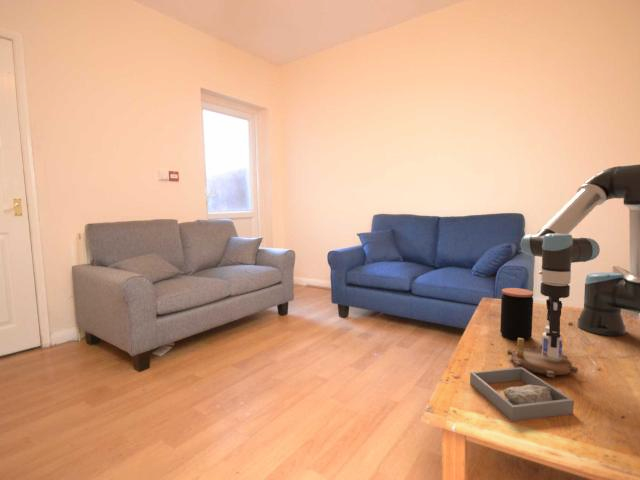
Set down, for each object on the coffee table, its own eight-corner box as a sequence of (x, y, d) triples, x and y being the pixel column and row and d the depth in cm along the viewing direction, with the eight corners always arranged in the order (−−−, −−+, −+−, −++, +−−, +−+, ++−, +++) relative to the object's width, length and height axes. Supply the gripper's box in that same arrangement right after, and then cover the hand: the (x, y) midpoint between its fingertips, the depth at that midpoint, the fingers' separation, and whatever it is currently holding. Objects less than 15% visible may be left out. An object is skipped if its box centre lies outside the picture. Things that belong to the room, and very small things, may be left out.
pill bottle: (565, 361, 106) (566, 331, 105) (545, 360, 108) (547, 330, 107) (556, 354, 112) (558, 325, 111) (538, 352, 113) (539, 324, 112)
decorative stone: (545, 425, 81) (546, 405, 81) (497, 405, 89) (498, 387, 89) (560, 404, 89) (561, 386, 89) (515, 388, 97) (516, 371, 97)
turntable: (503, 347, 120) (504, 327, 119) (560, 352, 115) (561, 332, 114) (517, 373, 102) (518, 350, 102) (585, 380, 97) (587, 356, 97)
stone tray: (521, 378, 102) (522, 367, 102) (573, 413, 85) (573, 400, 85) (470, 383, 100) (470, 372, 100) (512, 421, 83) (512, 407, 82)
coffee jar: (529, 333, 137) (531, 289, 135) (533, 343, 127) (535, 296, 125) (499, 329, 141) (500, 286, 139) (500, 339, 131) (502, 293, 129)
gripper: (540, 274, 120) (537, 333, 122) (541, 290, 98) (538, 361, 101) (566, 276, 116) (563, 337, 118) (574, 293, 95) (569, 367, 97)
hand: (551, 348), depth 109 cm, fingers open, 13 cm apart
